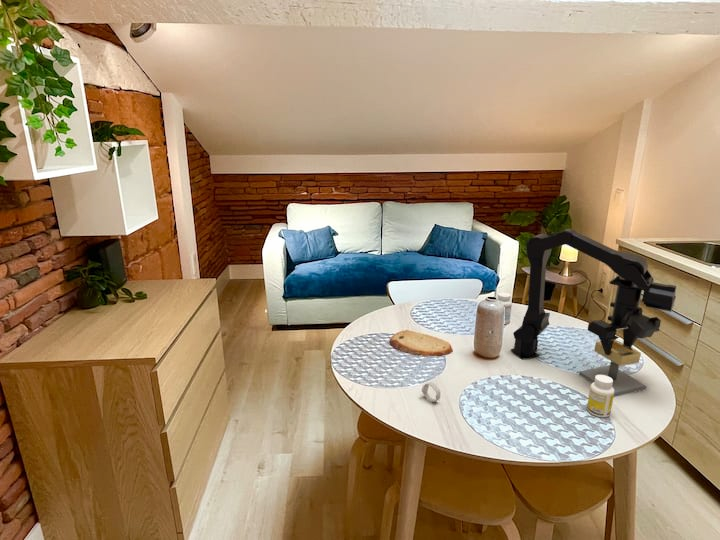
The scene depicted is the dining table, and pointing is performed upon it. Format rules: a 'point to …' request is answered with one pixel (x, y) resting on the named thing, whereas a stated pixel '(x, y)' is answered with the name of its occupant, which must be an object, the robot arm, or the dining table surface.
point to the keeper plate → (617, 384)
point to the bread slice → (420, 344)
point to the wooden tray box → (619, 353)
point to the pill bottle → (506, 305)
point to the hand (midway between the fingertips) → (616, 352)
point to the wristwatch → (425, 388)
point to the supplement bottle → (601, 396)
